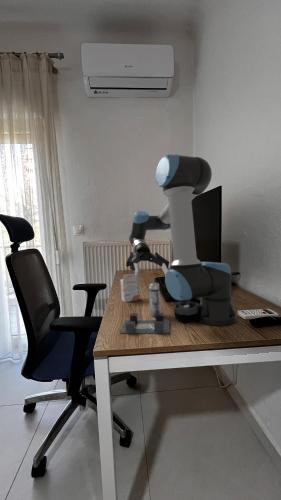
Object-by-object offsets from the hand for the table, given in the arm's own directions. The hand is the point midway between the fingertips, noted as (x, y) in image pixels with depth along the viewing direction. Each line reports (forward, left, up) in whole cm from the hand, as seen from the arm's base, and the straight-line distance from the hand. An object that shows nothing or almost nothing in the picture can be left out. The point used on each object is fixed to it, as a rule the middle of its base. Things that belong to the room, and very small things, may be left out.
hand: (152, 273), depth 103 cm
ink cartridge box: (+15, -26, -19) cm, 36 cm away
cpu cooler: (-14, +3, -19) cm, 23 cm away
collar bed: (+3, +12, -19) cm, 22 cm away
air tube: (0, -1, -19) cm, 19 cm away
